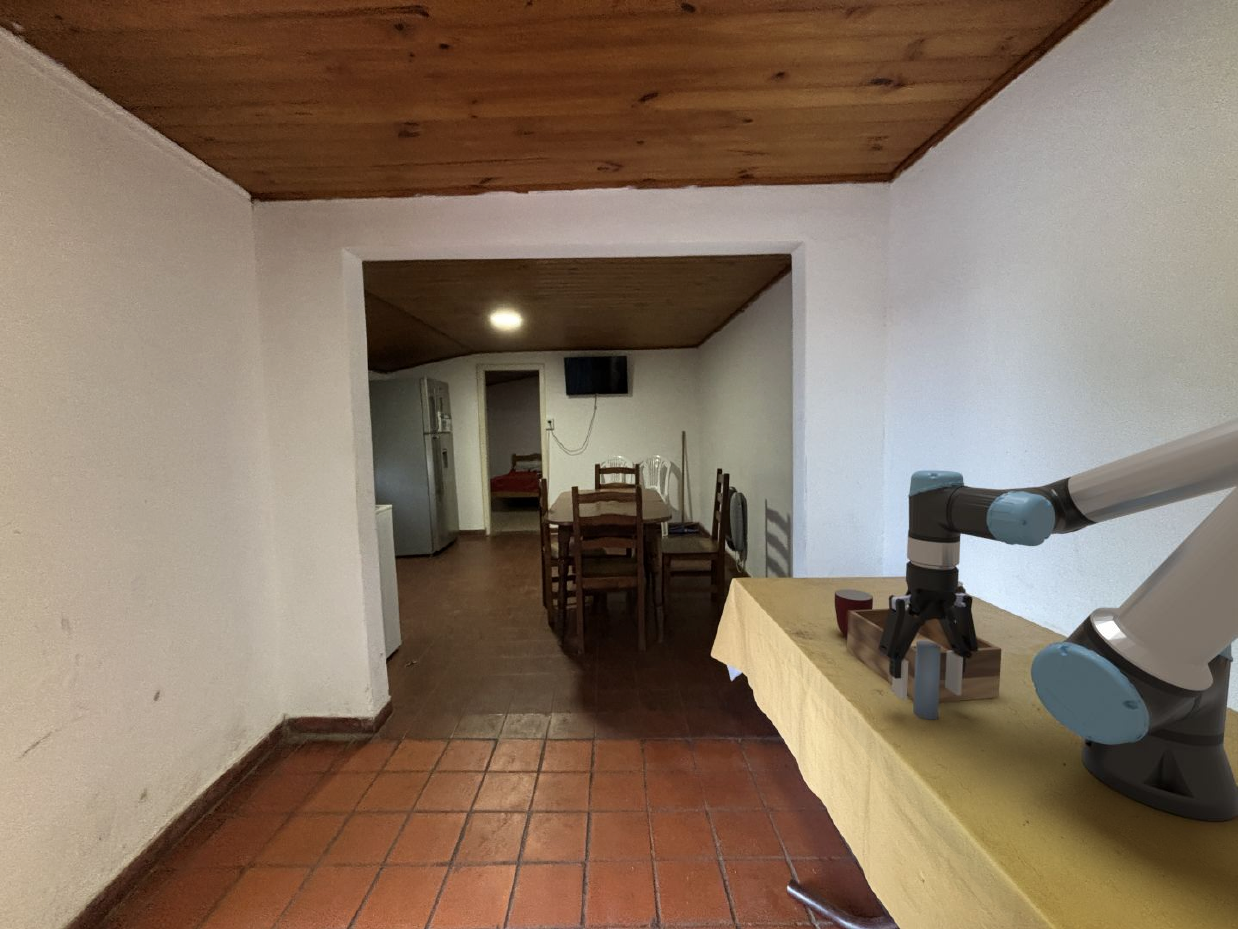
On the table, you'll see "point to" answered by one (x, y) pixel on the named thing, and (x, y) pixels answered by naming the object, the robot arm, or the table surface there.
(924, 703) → the peg
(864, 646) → the tray box
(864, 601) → the mug
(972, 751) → the table surface
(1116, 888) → the table surface
